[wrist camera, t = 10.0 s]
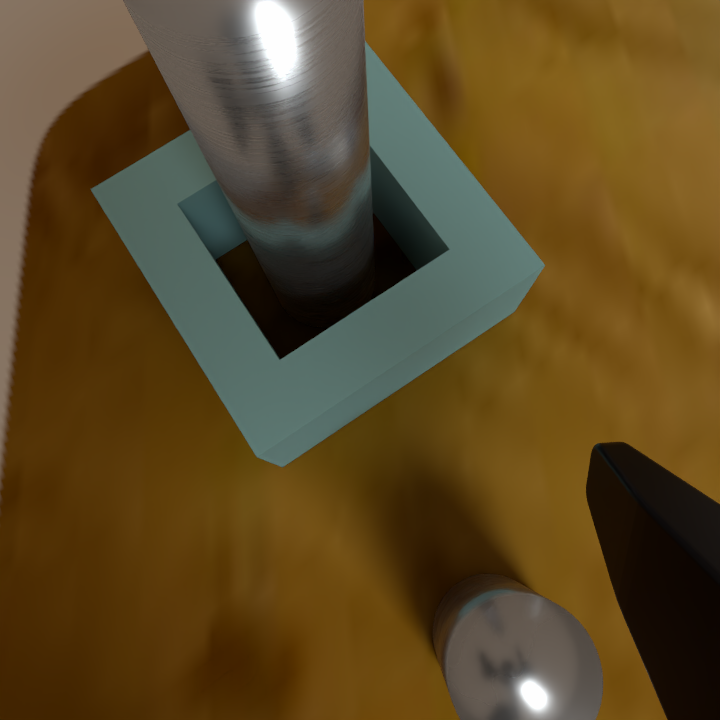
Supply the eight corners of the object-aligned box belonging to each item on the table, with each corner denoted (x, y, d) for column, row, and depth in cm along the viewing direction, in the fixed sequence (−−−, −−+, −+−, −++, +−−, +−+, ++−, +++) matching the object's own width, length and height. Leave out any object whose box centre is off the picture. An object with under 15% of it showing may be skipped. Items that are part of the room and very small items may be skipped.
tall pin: (335, 347, 20) (251, 83, 8) (254, 290, 21) (50, -43, 8) (395, 267, 21) (411, -102, 8) (315, 214, 21) (212, -210, 9)
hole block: (282, 467, 19) (256, 457, 16) (144, 247, 21) (90, 189, 17) (514, 312, 20) (545, 265, 16) (361, 114, 22) (356, 30, 18)
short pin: (478, 723, 18) (508, 796, 13) (409, 617, 18) (417, 651, 14) (574, 653, 18) (635, 700, 14) (502, 550, 19) (539, 564, 14)
